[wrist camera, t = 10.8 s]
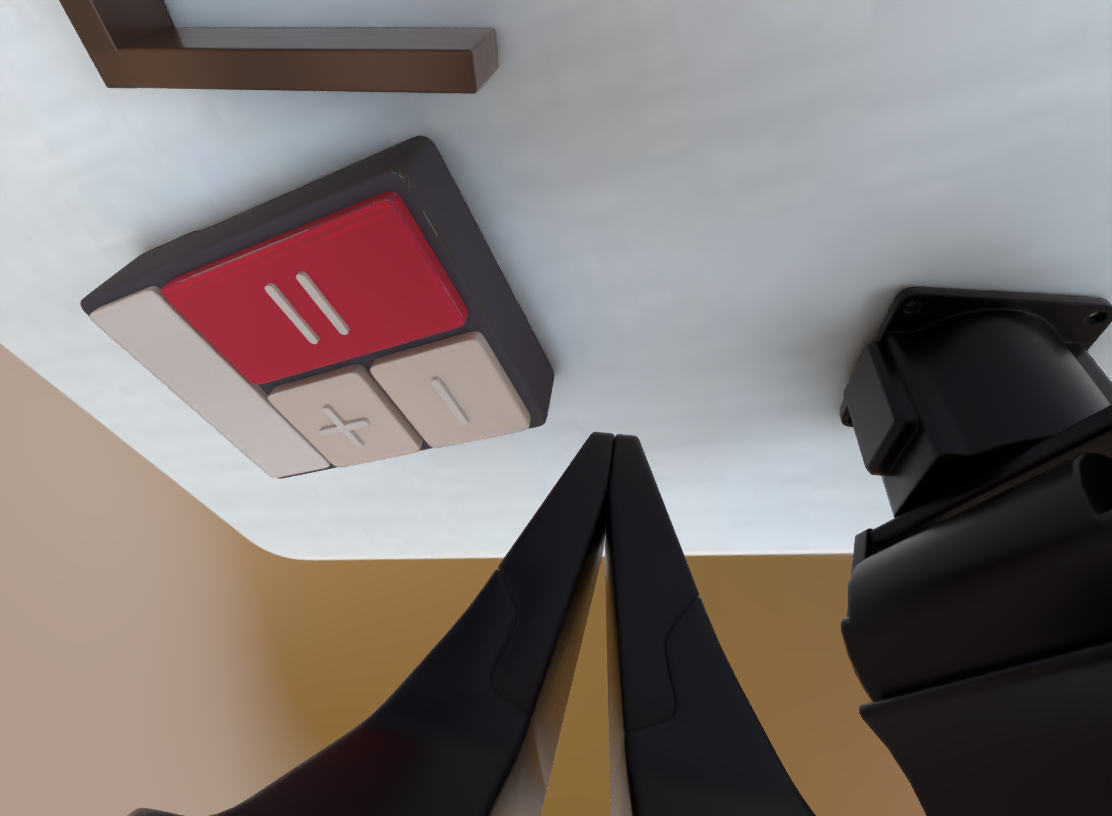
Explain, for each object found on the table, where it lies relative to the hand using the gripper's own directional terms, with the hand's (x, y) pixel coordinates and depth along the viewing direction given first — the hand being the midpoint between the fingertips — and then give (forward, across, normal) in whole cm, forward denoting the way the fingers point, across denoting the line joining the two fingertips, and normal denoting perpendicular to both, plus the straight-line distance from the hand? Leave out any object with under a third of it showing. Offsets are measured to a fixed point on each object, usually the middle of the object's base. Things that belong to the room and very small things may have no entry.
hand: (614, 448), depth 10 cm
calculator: (+11, +12, +6) cm, 17 cm away
